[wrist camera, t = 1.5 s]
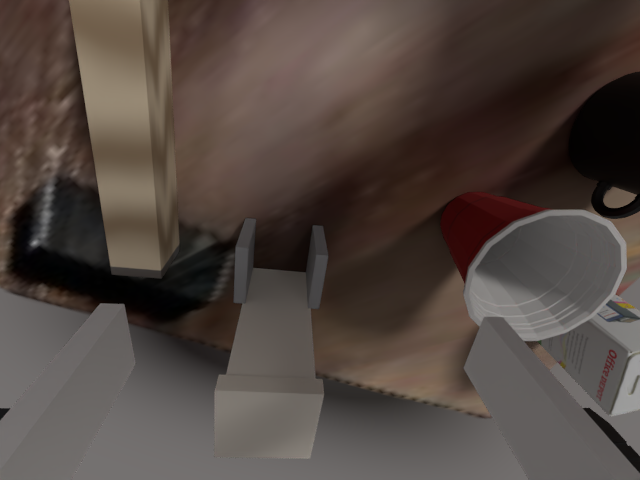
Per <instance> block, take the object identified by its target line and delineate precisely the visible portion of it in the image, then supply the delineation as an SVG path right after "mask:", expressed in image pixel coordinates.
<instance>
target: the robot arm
mask: <svg viewBox="0 0 640 480" xmlns="http://www.w3.org/2000/svg"><path fill="white" fill-rule="evenodd" d="M135 364H136V361H135V356H134V352H133V346H132V341H131V336H130V331H129V326H128V321H127V315H126V310H125V305H124V304H102V303H100V305H99V306H98V307H97V308H96V309H95V310H94V312H93V313H92V314H91V315H90V316H89V317H88V319H87V320H86V321H85V322H84V323H83V325H82V326H81V327H80V328H79V329H78V330H77V331H76V333H75V334H74V335H73V336H72V337H71V338H70V340H69V341H68V342H67V343H66V345H64V347H63V348H62V349H61V350H60V351H59V352H58V354H57V355H56V356H55V357H54V358H53V359H52V361H51V362H50V363H49V364H48V365H47V367H46V368H45V369H44V370H43V371H42V372H41V374H40V375H39V376H38V377H37V378H36V379H35V381H34V382H33V383H32V384H31V385H30V386H29V388H28V389H27V390H26V391H25V392H24V393H23V395H22V396H21V397H20V398H19V399H18V401H17V402H16V403H15V404H14V405H13V406H12V407H11V408H9V409H4V408H3V409H1V408H0V480H72V478H73V476H74V475H75V473H76V471H77V469H78V467H79V466H80V464H81V462H82V460H83V458H84V457H85V455H86V453H87V451H88V449H89V447H90V446H91V444H92V442H93V440H94V438H95V436H96V435H97V433H98V431H99V429H100V427H101V426H102V424H103V422H104V420H105V418H106V417H107V415H108V413H109V411H110V409H111V408H112V405H113V404H114V402H115V400H116V398H117V397H118V395H119V393H120V391H121V389H122V388H123V386H124V384H125V382H126V380H127V378H128V377H129V375H130V373H131V371H132V369H133V367H134V366H135ZM463 369H464V370H465V372H466V374H467V375H468V377H469V379H470V380H471V382H472V384H473V386H474V387H475V389H476V391H477V392H478V394H479V396H480V397H481V399H482V401H483V403H484V404H485V406H486V408H487V409H488V411H489V413H490V414H491V416H492V418H493V419H494V421H495V423H496V425H497V426H498V428H499V430H500V431H501V433H502V435H503V437H504V438H505V440H506V442H507V443H508V445H509V447H510V449H511V450H512V452H513V454H514V455H515V457H516V459H517V460H518V462H519V464H520V465H521V467H522V469H523V470H524V472H525V474H526V476H527V477H528V479H529V480H640V456H639V455H638V454H637V453H636V452H635V451H634V450H633V449H632V447H631V446H628V445H627V444H626V441H625V440H624V439H623V438H622V437H621V436H620V434H619V433H618V432H617V431H616V430H615V429H614V428H613V427H612V426H611V425H610V424H609V423H608V422H607V421H605V420H604V419H603V418H602V417H600V416H599V415H598V414H596V413H595V412H594V411H592V410H591V409H590V408H582V407H581V406H580V405H579V404H578V403H577V402H576V400H575V399H574V398H573V397H572V396H571V395H570V393H569V392H568V391H567V390H566V389H565V388H564V387H563V385H562V384H561V383H560V382H559V381H558V380H557V379H556V377H555V376H554V375H553V374H552V373H551V372H550V371H549V369H548V368H547V367H546V366H545V365H544V364H543V363H542V361H541V360H540V359H539V358H538V357H537V356H536V355H535V354H534V352H533V351H532V350H531V349H530V348H529V347H528V346H527V344H526V343H525V342H524V341H523V340H522V339H521V338H520V336H519V335H518V334H517V333H516V332H515V331H514V330H513V328H512V327H511V326H510V325H509V324H508V323H507V322H506V320H505V319H504V318H503V317H485V316H484V318H483V320H482V323H481V325H480V328H479V330H478V333H477V335H476V338H475V340H474V343H473V345H472V348H471V350H470V353H469V355H468V358H467V360H466V363H465V365H464V368H463Z"/></svg>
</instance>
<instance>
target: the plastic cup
mask: <svg viewBox="0 0 640 480" xmlns="http://www.w3.org/2000/svg"><path fill="white" fill-rule="evenodd" d="M440 226H441V230H442V234H443V237H444V239H445V241H446V243H447V245H448V247H449V250H450V253H451V255H452V257H453V260H454V262H455V264H456V266H457V268H458V270H459V272H460V274H461V276H462V279H463V281H464V283H465V285H464V290H463V295H464V298H465V302H466V305H467V309H468V312H469V316H470V318H471V319H472V320H473V321H474V322H475V323H476V324H477V325H478V326H480V325H481V323H482V320H483V318H484V316H485V317H503V318H504V319H505V320H506V322H507V323H508V324H509V325H510V326H511V327H512V328H513V330H514V331H515V332H516V333H517V334H518V335H519V336H520V338H521V339H522V340H523V341H539V340H543V339H546V338H550V337H553V336H557V335H560V334H564V333H567V332H569V331H570V330H572V329H574V328H575V327H577V326H579V325H580V324H582V323H584V322H586V321H587V320H589V319H591V318H592V317H594V316H595V315H596V314H597V313H598V312H599V311H600V310H601V309H602V307H603V306H604V305H605V304H606V303H607V302H608V301H609V300H610V299H611V298H612V297H613V296H614V295H615V293H616V291H617V289H618V287H619V285H620V282H621V280H622V278H623V276H624V274H625V271H626V269H627V260H626V242H625V241H624V239H623V238H622V236H621V235H620V233H619V232H618V231H617V229H616V228H615V226H614V225H613V223H612V222H611V221H608V220H606V219H604V218H602V217H599V216H597V215H595V214H593V213H590V212H588V211H586V210H580V209H566V210H553V209H550V208H541V207H538V206H534V205H531V204H527V203H523V202H520V201H516V200H513V199H509V198H506V197H502V196H494V195H491V194H488V193H484V192H468V193H465V194H463V195H460V196H458V197H456V198H455V199H454V200H453V201H451V202H450V203H449V204H448V205H447V207H446V208H445V210H444V212H443V214H442V217H441V223H440Z"/></svg>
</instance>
